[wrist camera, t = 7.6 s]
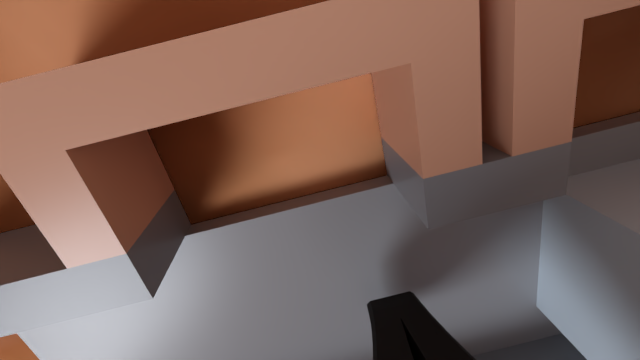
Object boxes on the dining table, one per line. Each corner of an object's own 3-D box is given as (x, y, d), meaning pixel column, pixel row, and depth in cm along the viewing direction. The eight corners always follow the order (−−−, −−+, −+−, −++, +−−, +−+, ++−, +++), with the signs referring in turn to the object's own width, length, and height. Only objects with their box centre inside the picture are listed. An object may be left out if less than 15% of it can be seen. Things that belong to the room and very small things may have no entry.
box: (136, 444, 13) (98, 549, 11) (-127, 126, 8) (-356, 173, 5) (681, 307, 13) (785, 377, 11) (816, -112, 8) (1114, -199, 5)
